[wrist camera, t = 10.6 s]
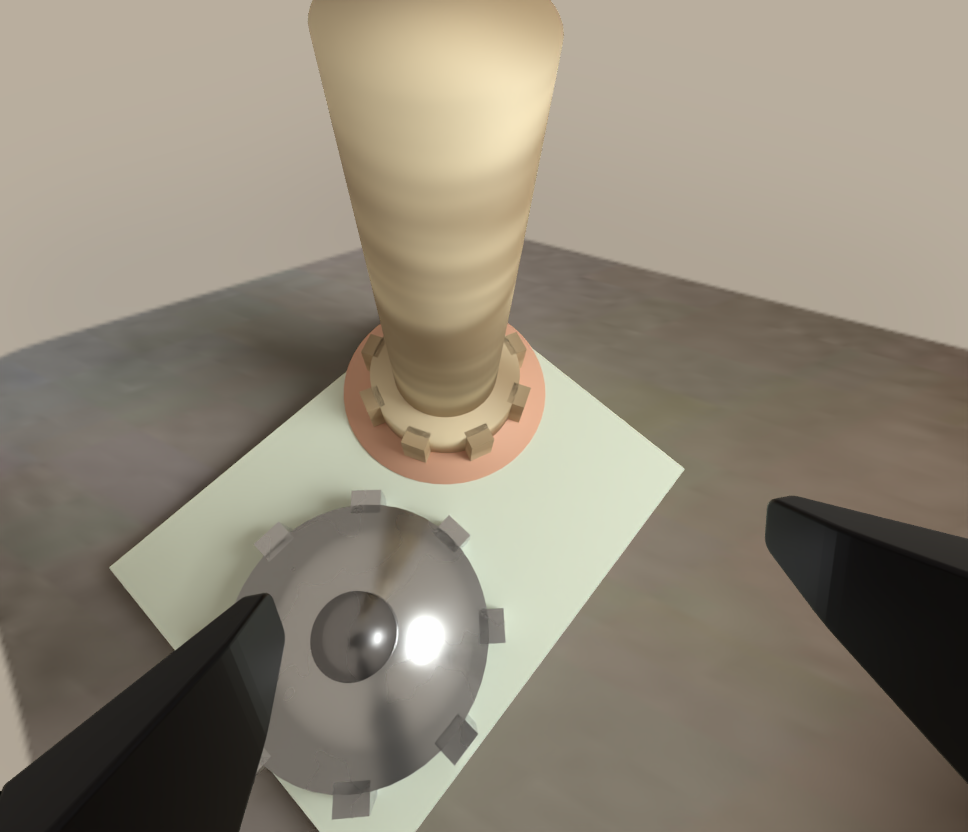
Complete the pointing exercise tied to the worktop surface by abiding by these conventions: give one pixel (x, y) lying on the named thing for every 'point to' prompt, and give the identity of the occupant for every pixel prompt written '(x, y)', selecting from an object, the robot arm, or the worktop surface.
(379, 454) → the board
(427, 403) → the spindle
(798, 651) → the worktop surface
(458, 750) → the gear
